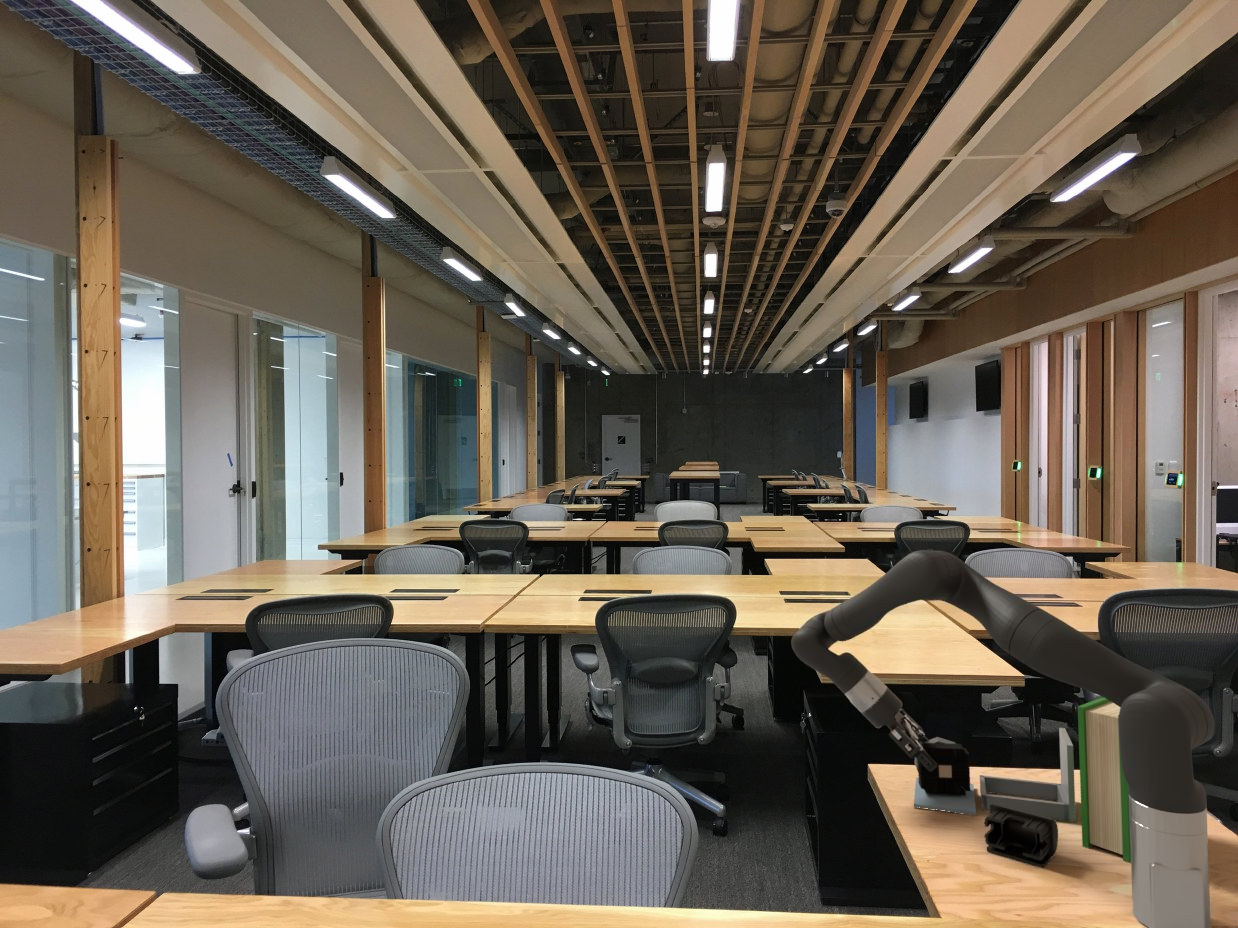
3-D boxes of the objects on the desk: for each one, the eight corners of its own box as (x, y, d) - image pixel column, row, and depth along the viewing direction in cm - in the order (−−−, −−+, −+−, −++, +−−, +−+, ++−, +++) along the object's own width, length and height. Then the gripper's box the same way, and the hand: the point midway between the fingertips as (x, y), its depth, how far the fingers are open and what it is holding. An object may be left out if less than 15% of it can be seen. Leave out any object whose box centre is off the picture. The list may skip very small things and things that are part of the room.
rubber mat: (976, 815, 150) (975, 811, 150) (913, 807, 154) (913, 803, 154) (973, 787, 163) (973, 783, 163) (916, 781, 167) (916, 777, 167)
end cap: (1059, 854, 135) (1058, 813, 135) (1046, 870, 130) (1045, 828, 130) (997, 836, 142) (996, 798, 142) (982, 851, 137) (981, 811, 137)
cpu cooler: (967, 787, 161) (965, 737, 162) (974, 798, 156) (972, 746, 156) (913, 785, 163) (912, 735, 163) (918, 796, 158) (917, 745, 158)
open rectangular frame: (1075, 822, 146) (1073, 745, 147) (982, 810, 152) (980, 737, 152) (1067, 799, 156) (1064, 728, 156) (980, 789, 162) (977, 720, 162)
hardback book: (1129, 862, 131) (1124, 716, 131) (1082, 845, 137) (1077, 706, 138) (1176, 833, 141) (1171, 697, 141) (1131, 819, 147) (1126, 688, 147)
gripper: (883, 695, 156) (949, 761, 152) (888, 677, 170) (948, 737, 165) (856, 720, 158) (920, 785, 154) (863, 700, 172) (921, 760, 167)
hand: (934, 760), depth 159 cm, fingers open, 8 cm apart
